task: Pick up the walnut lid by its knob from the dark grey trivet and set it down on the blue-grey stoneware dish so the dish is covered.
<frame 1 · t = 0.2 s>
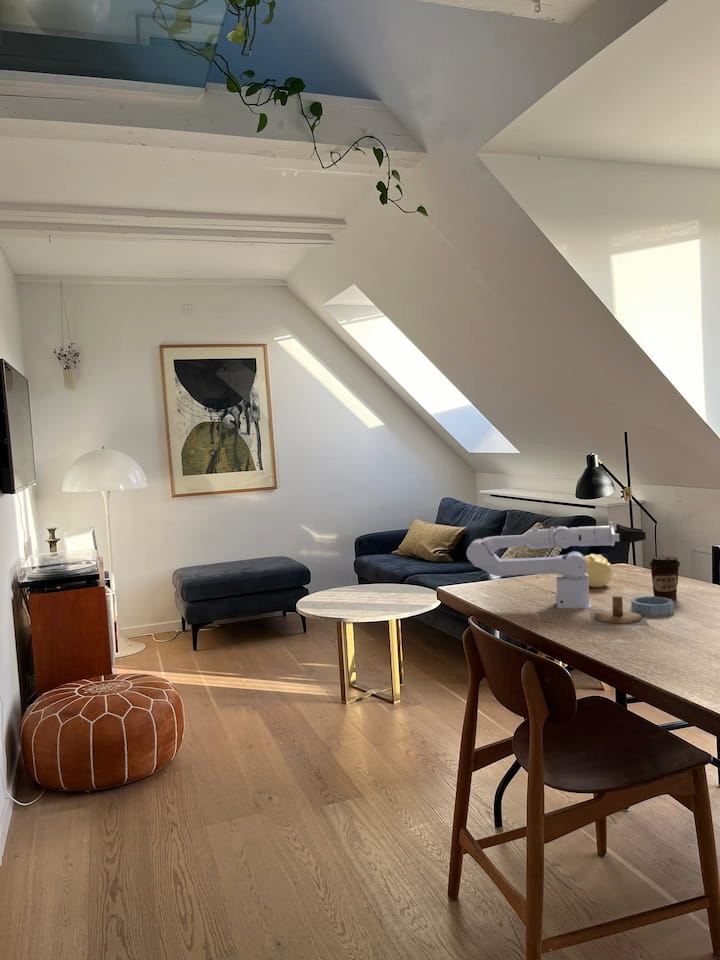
hand: (644, 534, 221), 21 cm above the table, tool horizontal, fingers open, 7 cm apart
lid: (617, 618, 210), resting on trivet
coffee cup: (665, 601, 229), on the table
sculpture: (593, 586, 254), on the table
trivet: (617, 620, 210), on the table
dish: (652, 613, 215), on the table
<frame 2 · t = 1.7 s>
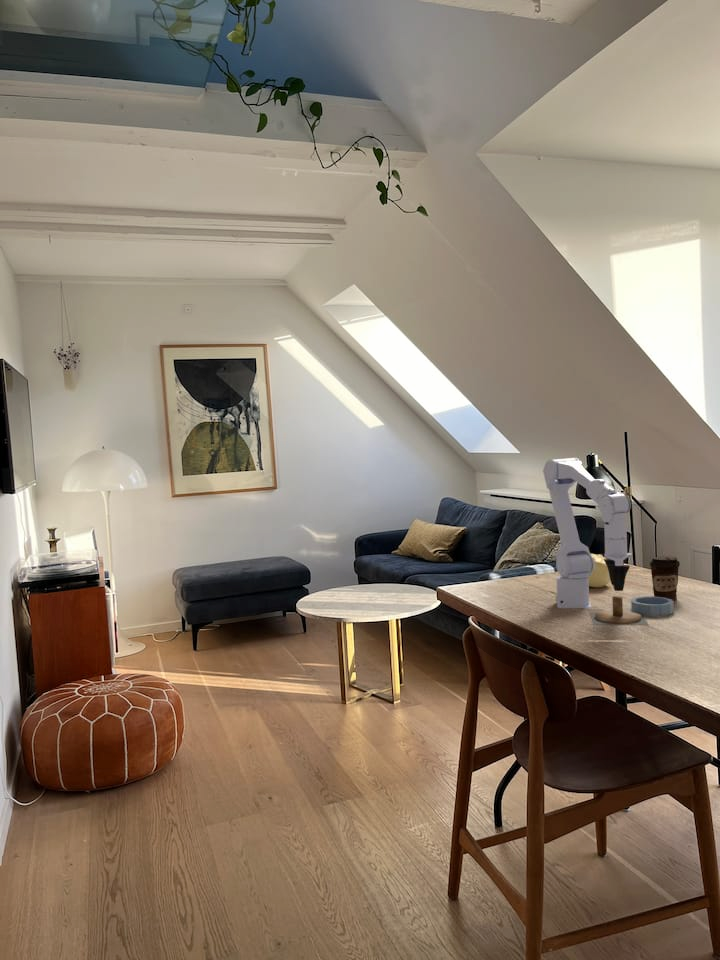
hand: (617, 587, 209), 9 cm above the table, tool pointing down, fingers open, 7 cm apart
nothing on the table moved.
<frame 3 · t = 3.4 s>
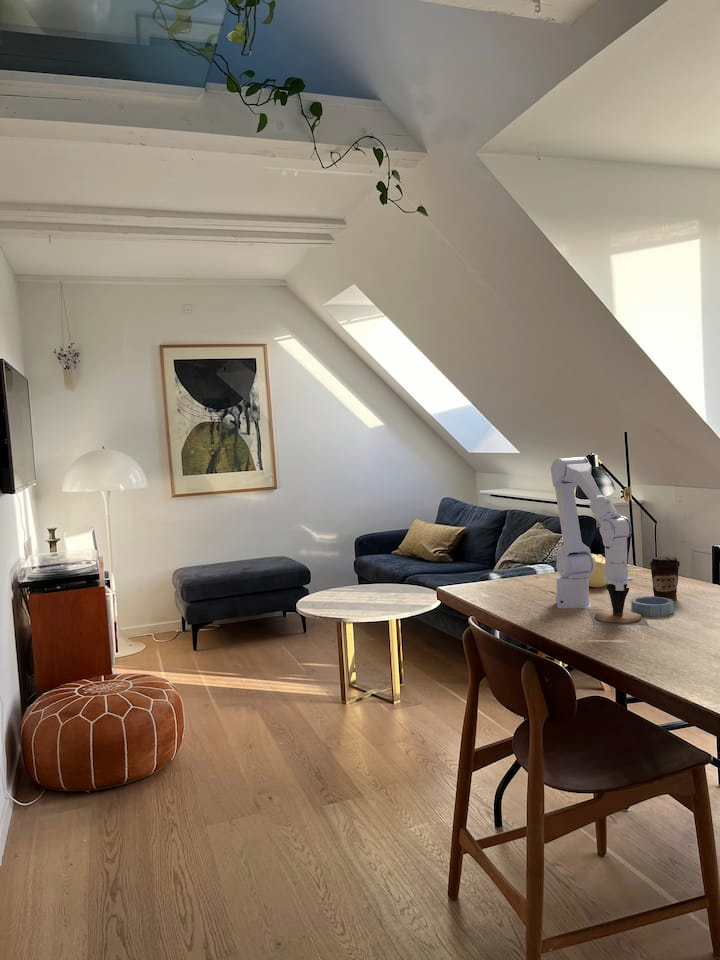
hand: (617, 611, 209), 2 cm above the table, tool pointing down, fingers closed on lid, 3 cm apart
lid: (617, 618, 210), resting on trivet, touching gripper
everything else where it was.
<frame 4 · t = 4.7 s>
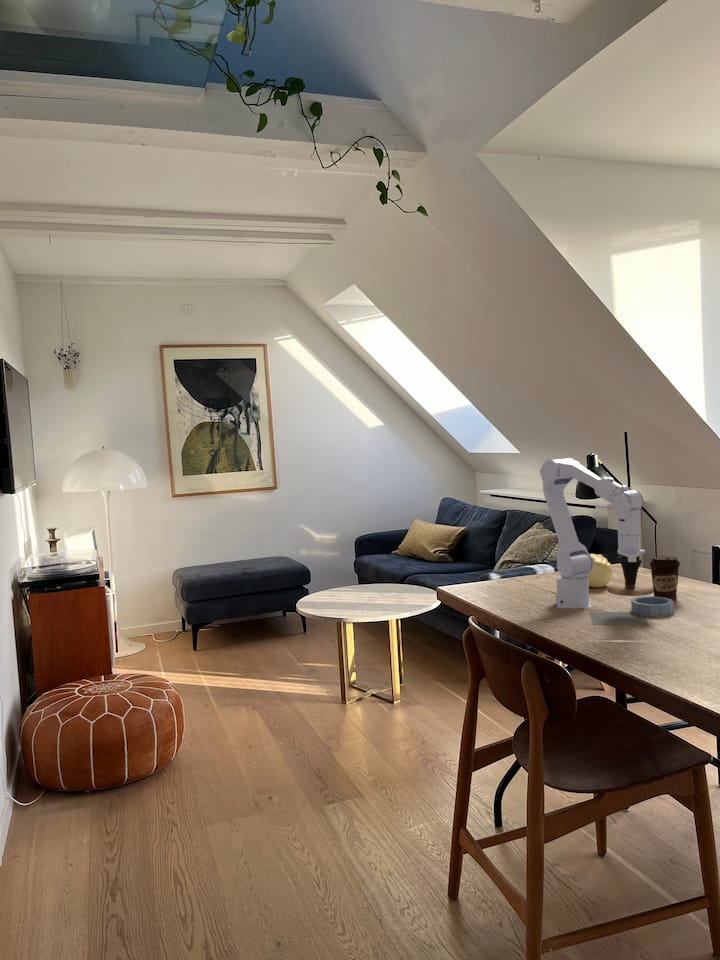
hand: (630, 583, 211), 9 cm above the table, tool pointing down, fingers closed on lid, 3 cm apart
lid: (630, 591, 211), point 7 cm above the table, touching gripper
everything else where it was.
when the fingers open (7 cm above the table, at t = 6.2 s): lid drops 1 cm, resting on dish.
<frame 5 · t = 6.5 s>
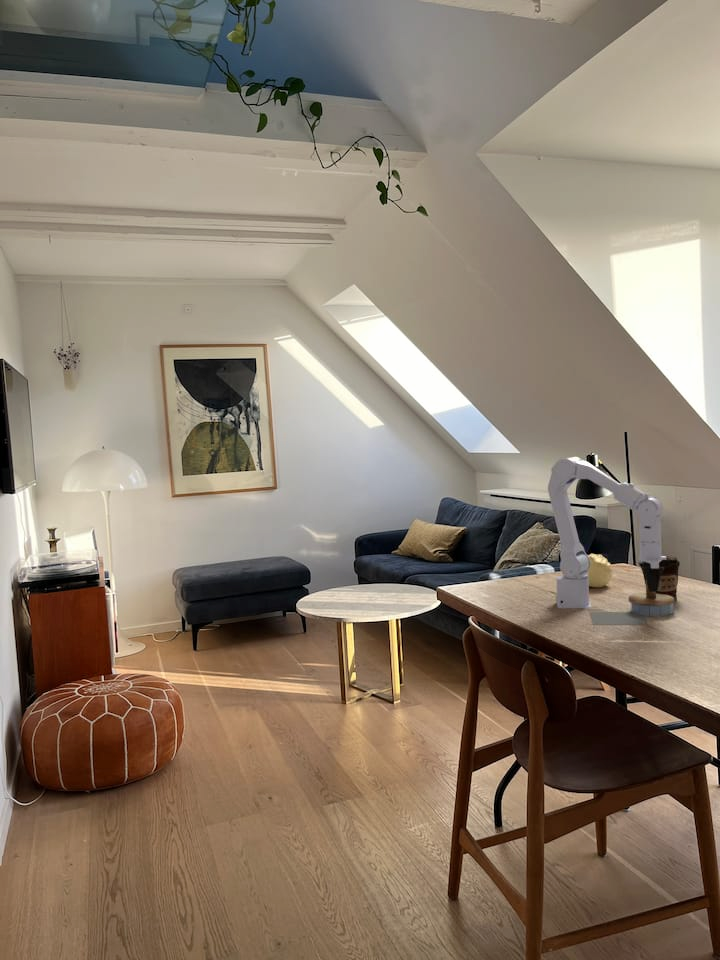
hand: (651, 589, 215), 7 cm above the table, tool pointing down, fingers open, 5 cm apart
lid: (651, 600, 215), point 3 cm above the table, touching dish
everything else where it was.
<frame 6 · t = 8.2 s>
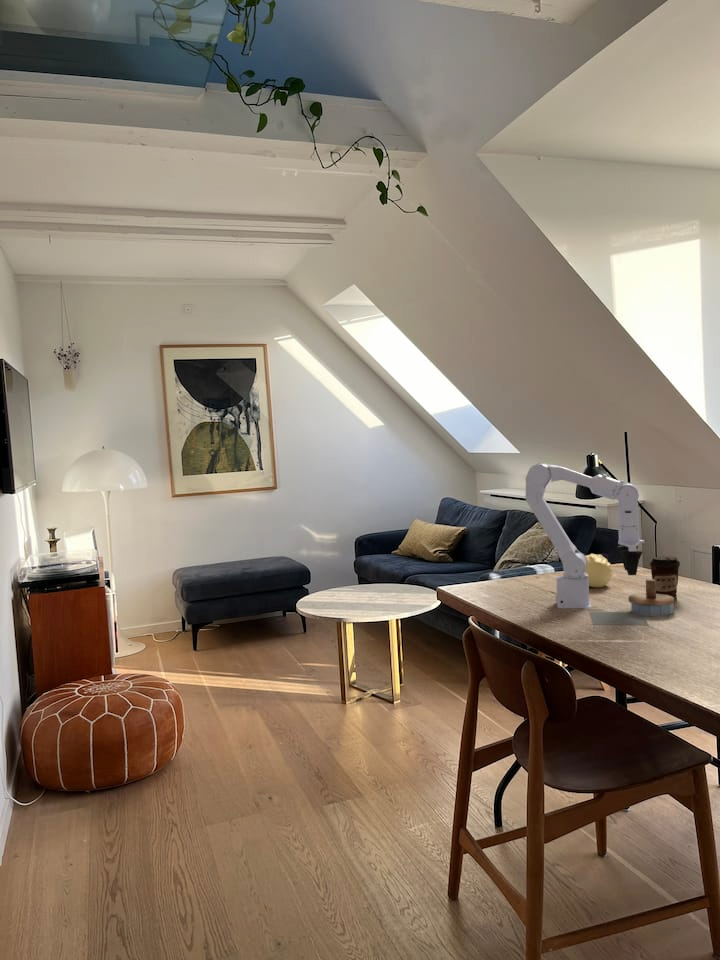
hand: (630, 572, 221), 10 cm above the table, tool pointing down, fingers open, 7 cm apart
nothing on the table moved.
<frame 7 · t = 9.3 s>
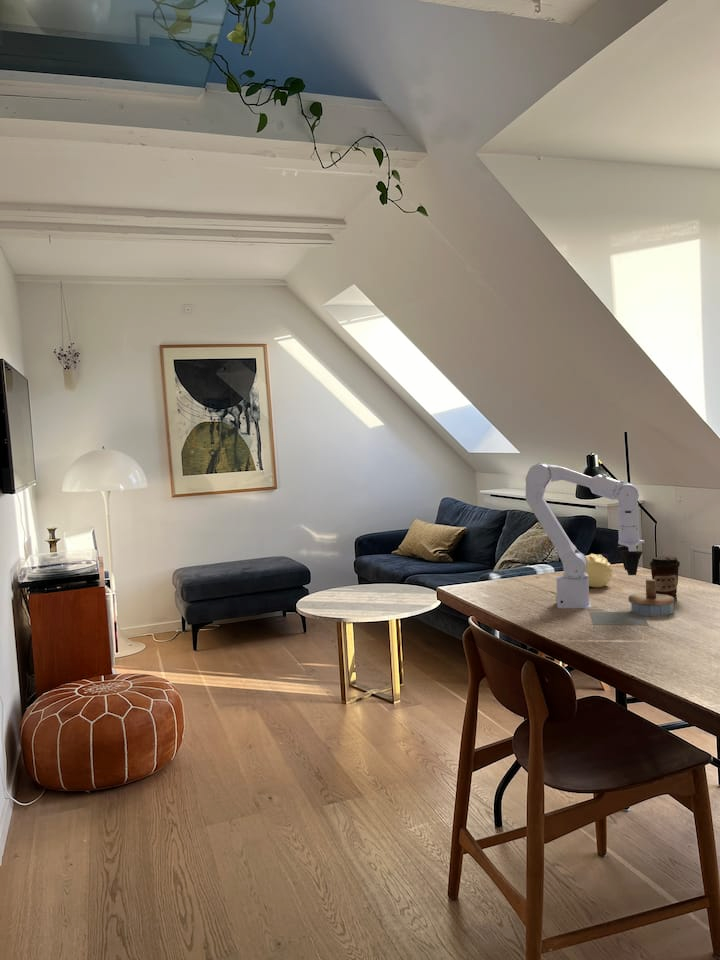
hand: (630, 572, 221), 10 cm above the table, tool pointing down, fingers open, 7 cm apart
nothing on the table moved.
at the end: lid 0.2 cm off-centre on the dish, point 3.5 cm above the dish's base; lid tilted 0°; the gripper is holding nothing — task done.
